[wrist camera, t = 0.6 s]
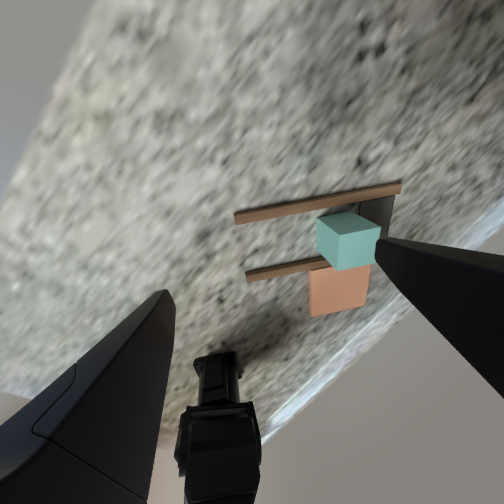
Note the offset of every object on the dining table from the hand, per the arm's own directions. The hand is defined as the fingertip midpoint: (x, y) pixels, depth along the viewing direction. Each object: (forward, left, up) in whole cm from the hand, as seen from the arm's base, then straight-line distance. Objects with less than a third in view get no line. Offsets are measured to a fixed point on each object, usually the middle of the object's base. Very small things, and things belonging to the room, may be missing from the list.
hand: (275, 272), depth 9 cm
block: (-6, -10, -14) cm, 18 cm away
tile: (-14, -11, -14) cm, 23 cm away
